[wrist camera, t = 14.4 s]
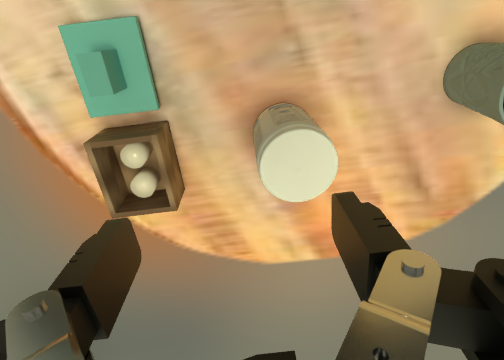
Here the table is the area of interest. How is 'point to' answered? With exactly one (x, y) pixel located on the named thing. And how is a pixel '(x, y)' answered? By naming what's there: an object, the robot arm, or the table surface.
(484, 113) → the grey green pot
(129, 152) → the cream ping pong ball
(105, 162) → the crate
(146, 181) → the pale sphere
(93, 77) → the lid
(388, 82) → the table surface
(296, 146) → the supplement tub
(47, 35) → the table surface
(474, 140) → the table surface
